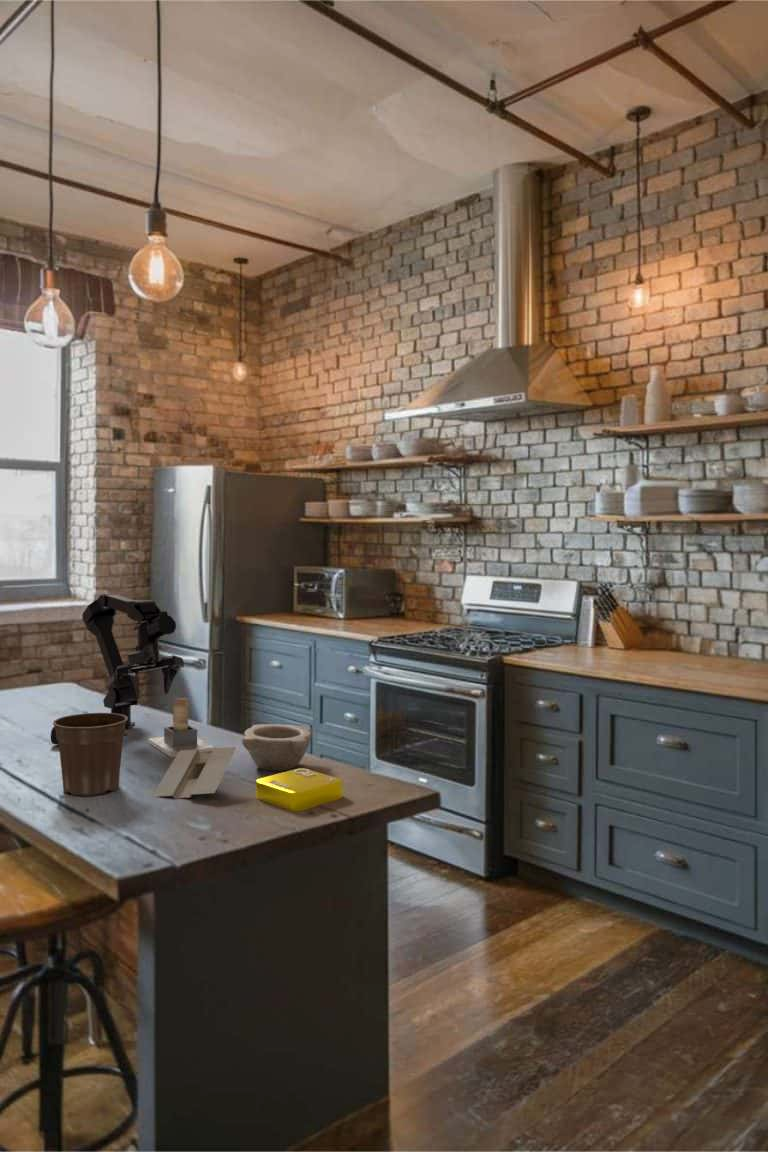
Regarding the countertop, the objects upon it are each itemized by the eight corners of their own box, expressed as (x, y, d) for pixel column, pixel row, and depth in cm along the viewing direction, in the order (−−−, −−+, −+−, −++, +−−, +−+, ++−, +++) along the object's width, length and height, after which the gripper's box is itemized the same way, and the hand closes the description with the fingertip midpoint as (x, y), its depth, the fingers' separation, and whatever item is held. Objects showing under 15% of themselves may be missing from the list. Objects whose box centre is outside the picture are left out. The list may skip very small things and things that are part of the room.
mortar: (305, 777, 210) (305, 739, 210) (236, 774, 211) (236, 737, 211) (315, 759, 227) (316, 724, 226) (252, 756, 228) (252, 722, 228)
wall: (232, 814, 194) (248, 758, 205) (215, 793, 188) (233, 736, 199) (168, 817, 199) (187, 762, 210) (150, 797, 194) (171, 741, 204)
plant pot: (53, 782, 203) (53, 714, 202) (125, 775, 209) (125, 709, 208) (53, 802, 188) (52, 729, 187) (130, 795, 194) (130, 724, 193)
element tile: (251, 798, 194) (251, 777, 194) (301, 784, 205) (301, 764, 205) (296, 814, 184) (296, 791, 184) (346, 798, 195) (346, 777, 195)
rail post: (175, 740, 239) (175, 697, 238) (189, 741, 239) (189, 698, 238) (171, 744, 235) (171, 700, 234) (185, 744, 235) (185, 700, 234)
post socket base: (148, 743, 241) (148, 724, 241) (189, 737, 248) (189, 719, 247) (171, 757, 226) (171, 737, 226) (214, 751, 233) (214, 732, 233)
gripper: (103, 644, 243) (106, 699, 239) (163, 632, 239) (167, 687, 235) (125, 650, 253) (128, 703, 249) (182, 638, 249) (186, 692, 245)
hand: (151, 696), depth 244 cm, fingers open, 9 cm apart
